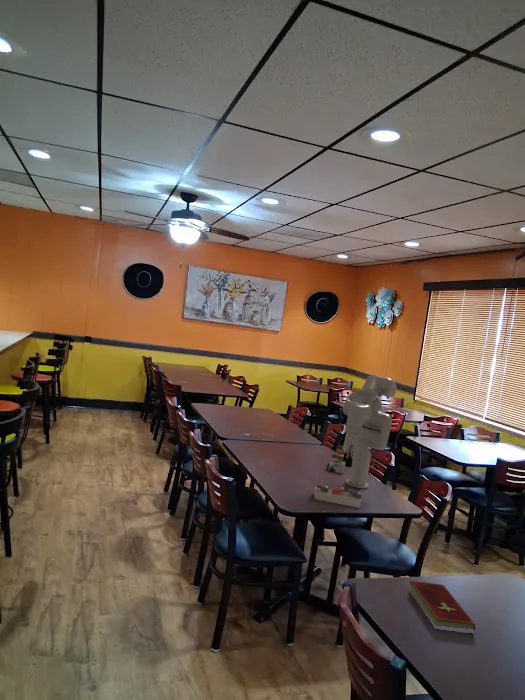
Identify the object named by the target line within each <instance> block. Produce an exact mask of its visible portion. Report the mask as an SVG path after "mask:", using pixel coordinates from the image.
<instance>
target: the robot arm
mask: <svg viewBox="0 0 525 700" xmlns="http://www.w3.org/2000/svg"><path fill="white" fill-rule="evenodd" d="M396 394H397V384H396V382H395V381H394V380H393V379H392V378H390V377H387V376H386V377H385V376H381V375H376V374H373V375H372V374H371V375H369V376H367V378H366V380H365V381H364V383H363V386H362V388H361V389H359V390H356V391H354V392H353V391H352V392H351V393H350V394H349V395H348V396H347V398H346V399H345V400H344V403H343V406H342V412H343V414H344V415H345V416H347V419H346V425H345V430H344V432H346V433H345V437H344V442H343V447H342V450H343V452H344V453H343V456H342V457H343V461H344V462H345V467H346V468H350V470H349V471H350V472H349V478H346V479H345V483H346V484H347V485H348V486H351V487H352V488H357V489H368V488H369V483H367V480H368V474H369V470H370V463H371V459H372V453H371V451H370V449H369V448H371V449H375V450H378V451H384V450H385V449H386V448H387V445H388V441H389V437H390V432H391V429H392V424H393V423H392V422H393V417H392V416H391V414H388V413H385V412H381V411H382V410H381V409H382V406H383V405H382V404H383V403H382V401H381V398H380V396H383V397H388V398H393V397H394V396H395V395H396ZM363 426H364V427H363ZM365 427H367V428H365ZM369 428H371V429H369ZM374 429H375V430H374ZM377 430H379V431H377Z"/></svg>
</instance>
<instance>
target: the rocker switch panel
mask: <svg viewBox="0 0 525 700" xmlns="http://www.w3.org/2000/svg"><path fill="white" fill-rule="evenodd" d="M313 496H314V500H316V499H317V501H322V502H327V503H333V504H338V505H343V506H349V507H354V508H358V509H359V508H360V509H361V505H362V497H361V498H359V497H357V496H354V495H352V494H349V491H345V493H332V488H329V491H328V492H327V491H324V490H322V489H320V488H317V487H316V485H315V486H314V490H313Z"/></svg>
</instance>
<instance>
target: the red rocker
mask: <svg viewBox="0 0 525 700" xmlns="http://www.w3.org/2000/svg"><path fill="white" fill-rule="evenodd" d="M331 489H332V493H345V492H346V490H345V486H332V487H331Z"/></svg>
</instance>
